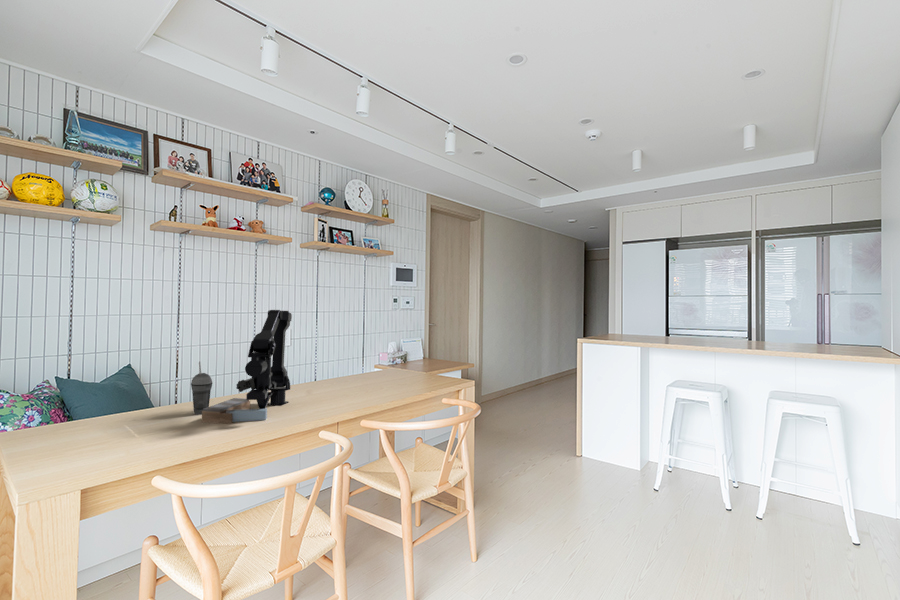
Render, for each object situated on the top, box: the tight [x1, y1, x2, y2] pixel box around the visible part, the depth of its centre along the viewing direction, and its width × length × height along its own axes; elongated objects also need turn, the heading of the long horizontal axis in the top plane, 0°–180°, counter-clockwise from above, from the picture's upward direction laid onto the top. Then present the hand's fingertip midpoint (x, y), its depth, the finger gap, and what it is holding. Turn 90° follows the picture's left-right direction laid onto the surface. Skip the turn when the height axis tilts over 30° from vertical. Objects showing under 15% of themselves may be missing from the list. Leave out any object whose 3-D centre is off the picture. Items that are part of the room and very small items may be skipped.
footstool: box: [201, 397, 251, 424], centre depth 160 cm, size 18×11×5 cm, turn 173°
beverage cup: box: [190, 361, 213, 416], centre depth 163 cm, size 7×7×20 cm
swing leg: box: [226, 407, 268, 423], centre depth 155 cm, size 14×3×4 cm, turn 105°
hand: (261, 412), depth 159 cm, fingers closed
